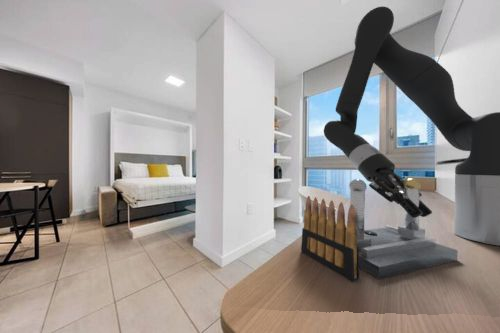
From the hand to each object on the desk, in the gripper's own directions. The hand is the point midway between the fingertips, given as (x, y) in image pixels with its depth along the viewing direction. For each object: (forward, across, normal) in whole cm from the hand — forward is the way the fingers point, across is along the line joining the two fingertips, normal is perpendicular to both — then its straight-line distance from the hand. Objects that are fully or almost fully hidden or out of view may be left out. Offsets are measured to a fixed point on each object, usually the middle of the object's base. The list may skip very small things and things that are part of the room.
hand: (422, 215), depth 37 cm
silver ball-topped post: (+1, -17, +7) cm, 18 cm away
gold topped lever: (+1, 0, +7) cm, 7 cm away
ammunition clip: (+5, -25, +7) cm, 26 cm away
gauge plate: (+4, -9, +7) cm, 12 cm away
